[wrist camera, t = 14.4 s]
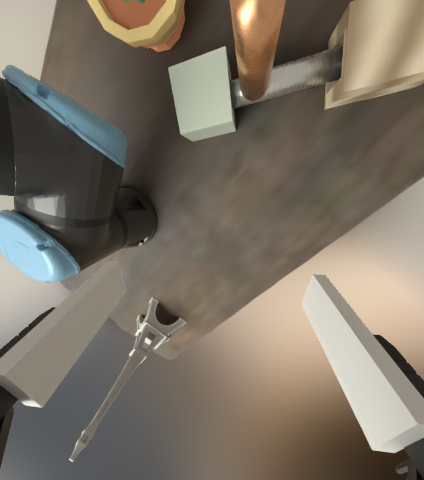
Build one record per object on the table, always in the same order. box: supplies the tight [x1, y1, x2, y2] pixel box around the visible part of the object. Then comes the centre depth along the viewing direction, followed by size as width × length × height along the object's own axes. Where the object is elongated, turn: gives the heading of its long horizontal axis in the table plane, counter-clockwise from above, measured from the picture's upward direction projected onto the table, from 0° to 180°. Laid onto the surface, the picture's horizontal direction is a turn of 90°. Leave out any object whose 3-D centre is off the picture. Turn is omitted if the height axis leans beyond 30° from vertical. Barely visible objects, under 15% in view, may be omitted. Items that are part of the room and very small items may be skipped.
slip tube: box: [229, 0, 344, 109], centre depth 19 cm, size 22×4×18 cm, turn 99°
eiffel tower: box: [69, 297, 186, 462], centre depth 41 cm, size 13×13×30 cm
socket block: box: [168, 46, 236, 142], centre depth 28 cm, size 9×9×6 cm
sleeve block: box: [324, 0, 424, 109], centre depth 22 cm, size 12×9×6 cm
